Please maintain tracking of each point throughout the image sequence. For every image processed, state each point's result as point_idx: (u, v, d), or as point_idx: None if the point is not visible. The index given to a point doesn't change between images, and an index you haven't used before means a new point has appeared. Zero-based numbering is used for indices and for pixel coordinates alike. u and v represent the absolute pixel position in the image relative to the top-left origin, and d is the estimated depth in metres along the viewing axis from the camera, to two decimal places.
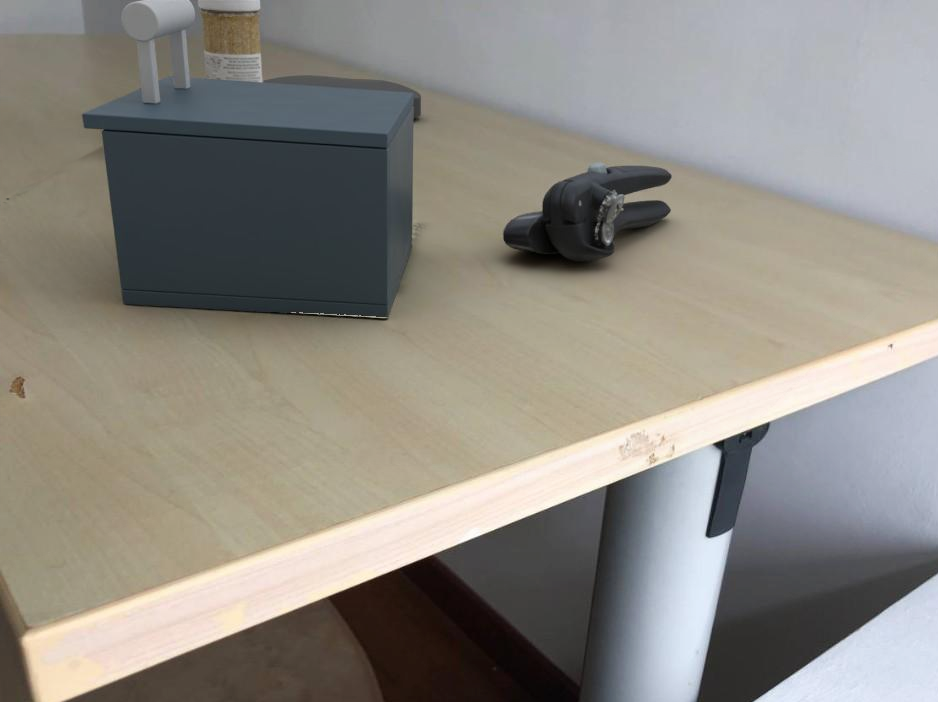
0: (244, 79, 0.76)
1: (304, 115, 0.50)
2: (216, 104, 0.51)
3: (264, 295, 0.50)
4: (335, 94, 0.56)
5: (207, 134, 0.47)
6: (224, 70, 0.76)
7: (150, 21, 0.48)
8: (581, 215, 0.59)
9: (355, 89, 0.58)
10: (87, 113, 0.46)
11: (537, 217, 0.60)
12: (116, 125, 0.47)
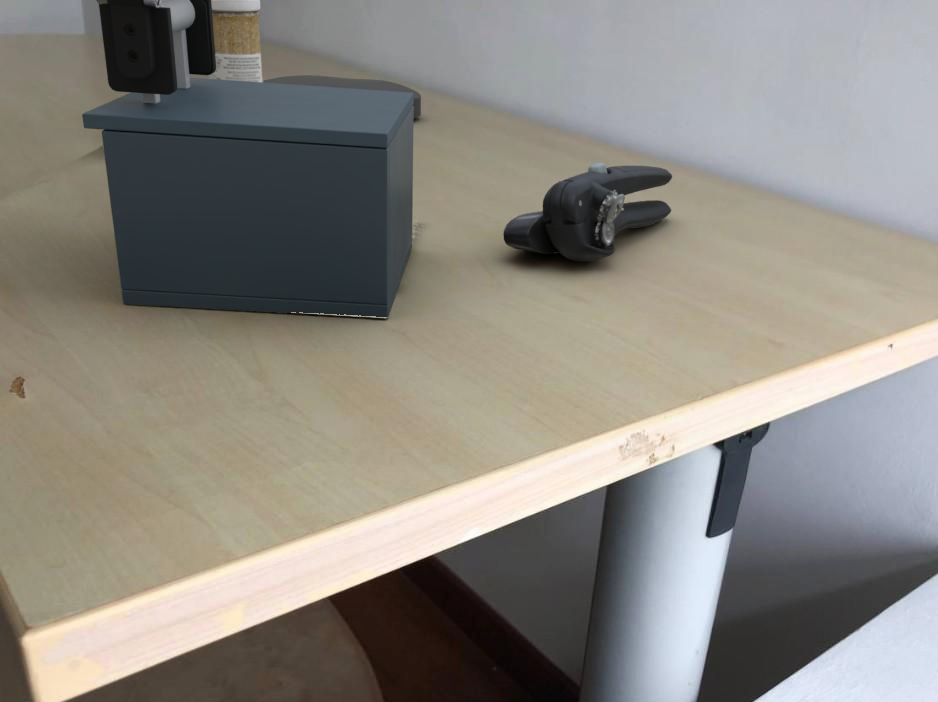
0: (244, 79, 0.76)
1: (304, 115, 0.50)
2: (216, 104, 0.51)
3: (264, 295, 0.50)
4: (335, 94, 0.56)
5: (207, 134, 0.47)
6: (224, 70, 0.76)
7: None
8: (581, 215, 0.59)
9: (355, 89, 0.58)
10: (87, 113, 0.46)
11: (537, 217, 0.60)
12: (116, 125, 0.47)
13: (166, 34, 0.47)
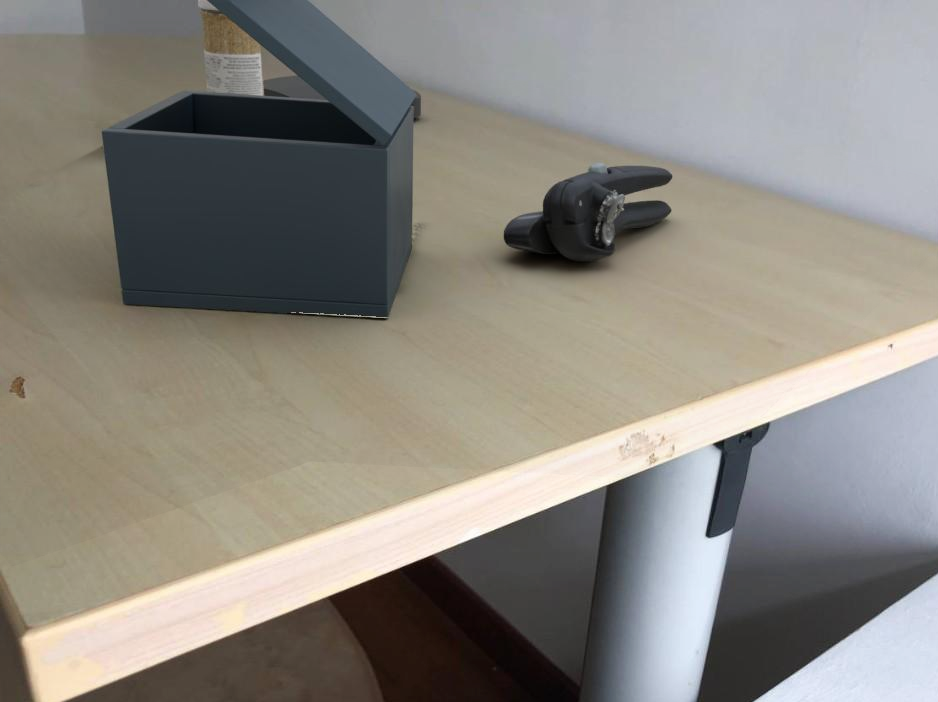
0: (244, 79, 0.76)
1: (325, 61, 0.48)
2: None
3: (264, 295, 0.50)
4: (353, 50, 0.55)
5: (233, 20, 0.45)
6: (224, 70, 0.76)
7: None
8: (582, 215, 0.59)
9: (370, 55, 0.57)
10: None
11: (537, 217, 0.60)
12: None
13: None
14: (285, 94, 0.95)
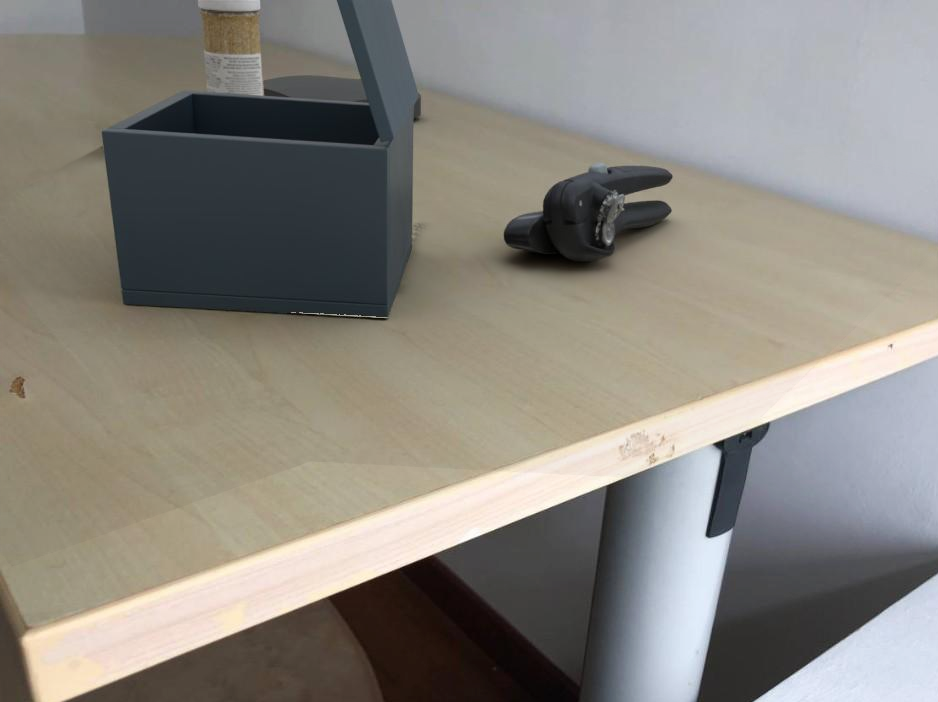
0: (244, 79, 0.76)
1: (374, 34, 0.48)
2: None
3: (264, 295, 0.50)
4: (393, 28, 0.54)
5: None
6: (224, 70, 0.76)
7: None
8: (582, 215, 0.59)
9: (401, 38, 0.57)
10: None
11: (538, 217, 0.60)
12: None
13: None
14: (285, 94, 0.95)
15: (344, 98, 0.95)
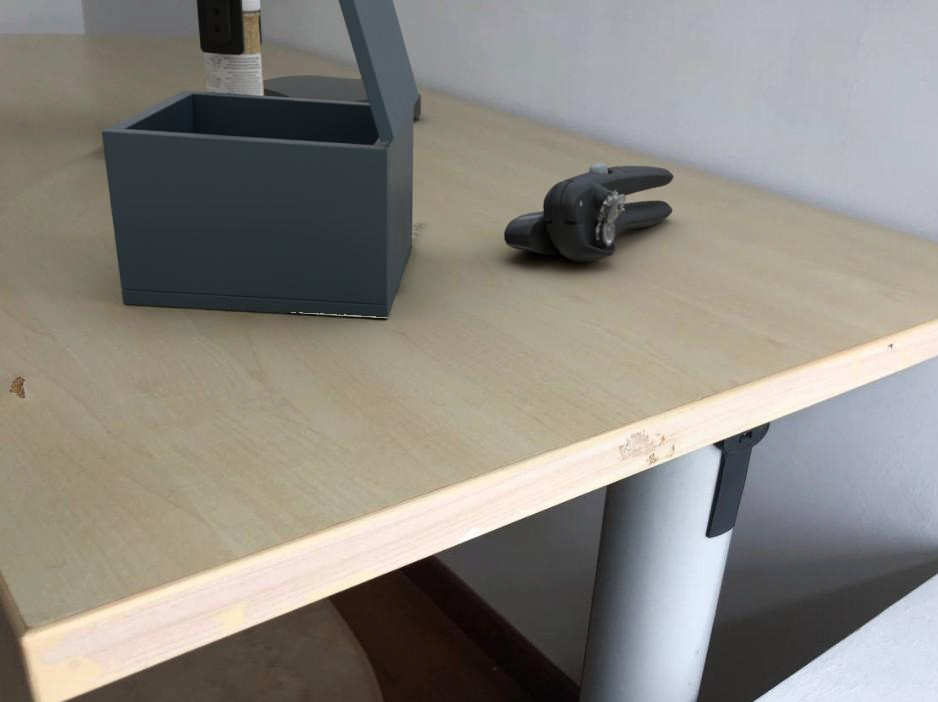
0: (244, 79, 0.76)
1: (375, 33, 0.48)
2: None
3: (264, 295, 0.50)
4: (394, 28, 0.54)
5: None
6: (224, 70, 0.76)
7: None
8: (582, 215, 0.59)
9: (402, 38, 0.57)
10: None
11: (538, 217, 0.60)
12: None
13: (239, 15, 0.73)
14: (285, 94, 0.95)
15: (344, 98, 0.95)
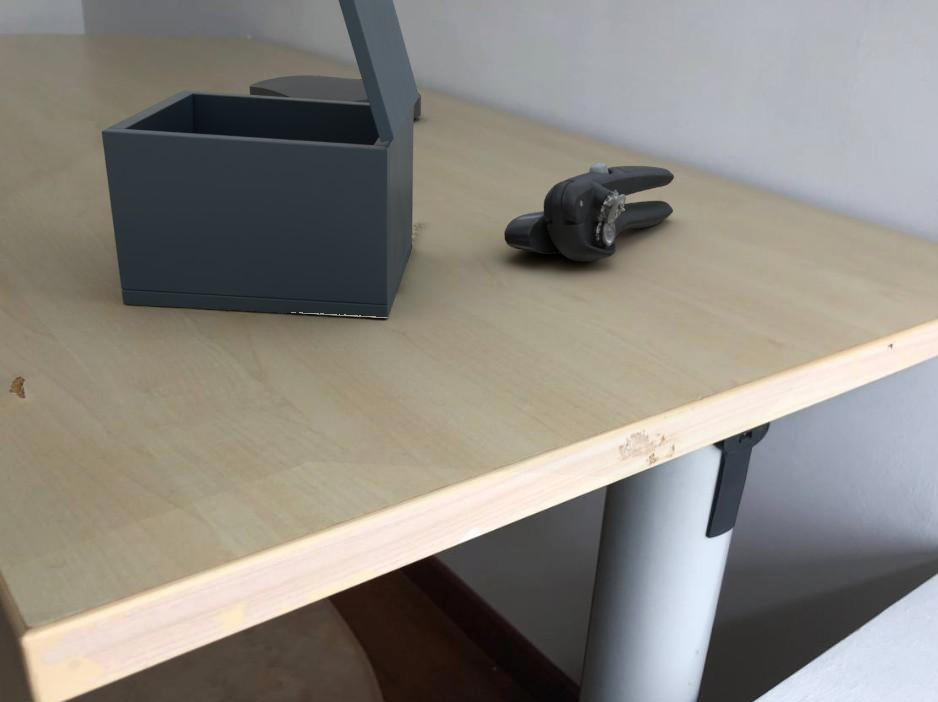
0: None
1: (375, 33, 0.48)
2: None
3: (264, 295, 0.50)
4: (394, 28, 0.54)
5: None
6: None
7: None
8: (582, 215, 0.59)
9: (402, 38, 0.57)
10: None
11: (538, 217, 0.60)
12: None
13: None
14: (285, 94, 0.95)
15: (344, 98, 0.95)
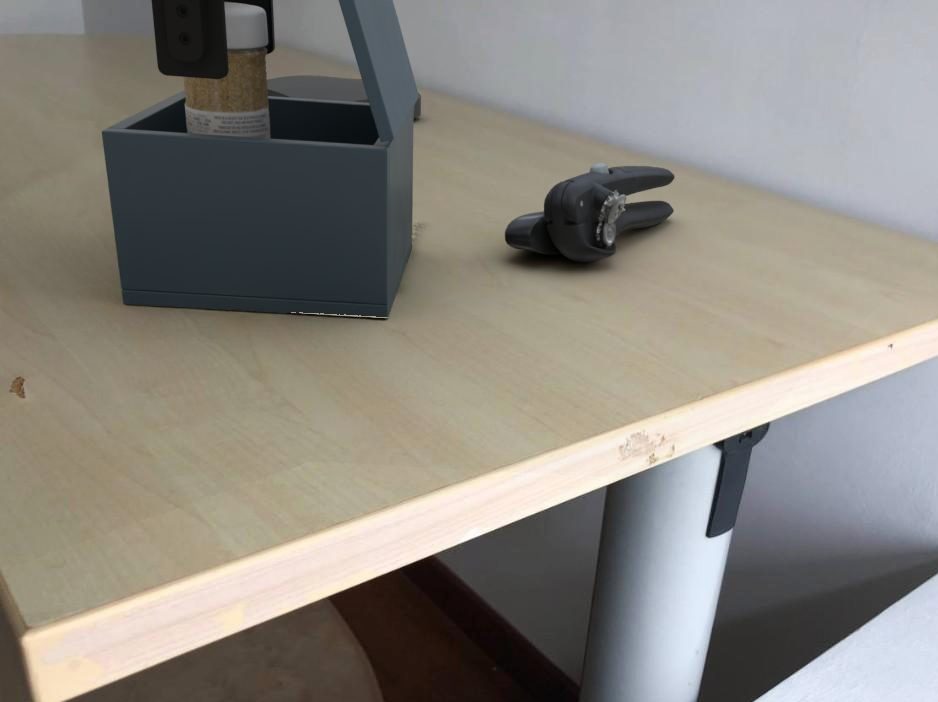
0: None
1: (375, 33, 0.48)
2: None
3: (264, 295, 0.50)
4: (394, 28, 0.54)
5: None
6: None
7: None
8: (583, 215, 0.59)
9: (402, 38, 0.57)
10: None
11: (539, 217, 0.60)
12: None
13: (219, 16, 0.46)
14: (285, 94, 0.95)
15: (344, 98, 0.95)
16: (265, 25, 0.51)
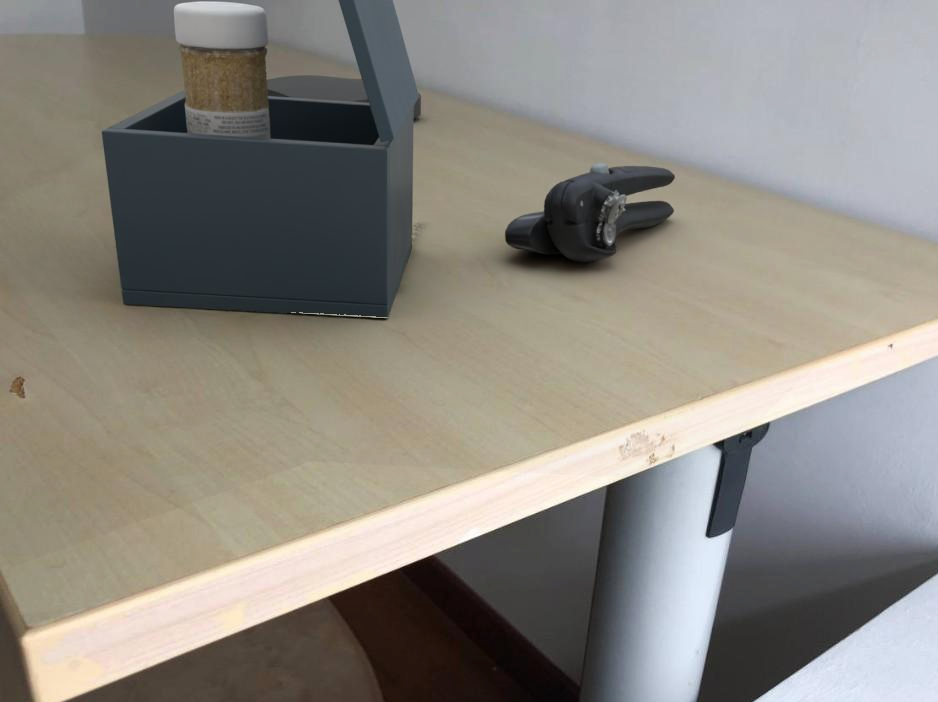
0: None
1: (375, 33, 0.48)
2: None
3: (264, 295, 0.50)
4: (394, 28, 0.54)
5: None
6: None
7: None
8: (583, 215, 0.59)
9: (402, 38, 0.57)
10: None
11: (539, 217, 0.60)
12: None
13: None
14: (285, 94, 0.95)
15: (344, 98, 0.95)
16: (265, 25, 0.51)
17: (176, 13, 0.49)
